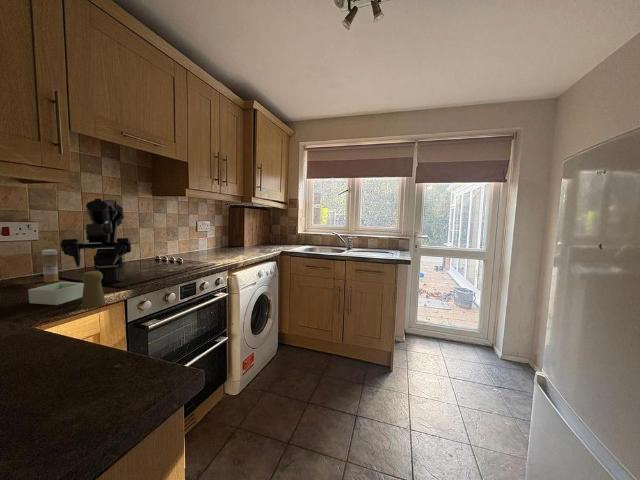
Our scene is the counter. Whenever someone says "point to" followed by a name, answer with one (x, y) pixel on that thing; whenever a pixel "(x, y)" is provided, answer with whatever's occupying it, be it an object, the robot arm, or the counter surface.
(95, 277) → the cork
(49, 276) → the sprinkles bottle
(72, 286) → the end cap socket
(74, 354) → the counter surface
